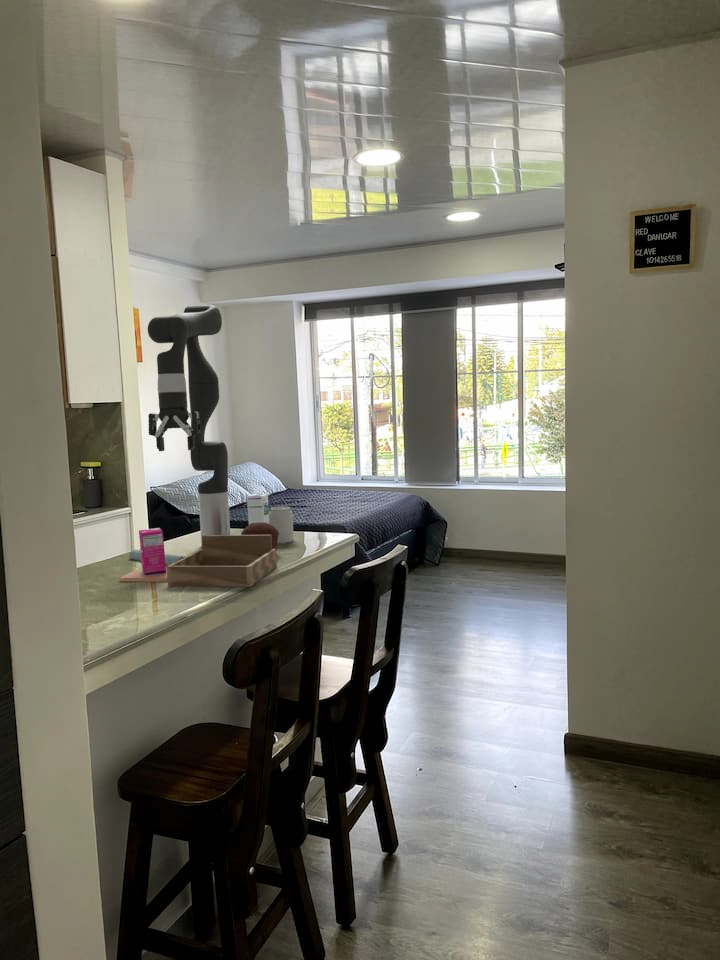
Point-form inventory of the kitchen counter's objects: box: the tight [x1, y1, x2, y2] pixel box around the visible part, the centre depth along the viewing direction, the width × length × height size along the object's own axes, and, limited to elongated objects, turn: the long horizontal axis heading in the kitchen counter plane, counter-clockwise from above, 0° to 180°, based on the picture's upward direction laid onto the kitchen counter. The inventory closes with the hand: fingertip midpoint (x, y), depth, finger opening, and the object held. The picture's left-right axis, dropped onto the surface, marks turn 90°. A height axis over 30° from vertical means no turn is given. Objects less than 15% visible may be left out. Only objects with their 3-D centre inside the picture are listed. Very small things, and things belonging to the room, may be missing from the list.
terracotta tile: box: [119, 566, 168, 583], centre depth 200 cm, size 13×13×1 cm
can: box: [269, 506, 295, 544], centre depth 239 cm, size 8×8×12 cm
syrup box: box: [246, 493, 270, 525], centre depth 254 cm, size 6×6×14 cm
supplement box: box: [138, 527, 167, 575], centre depth 200 cm, size 6×6×12 cm
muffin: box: [240, 522, 280, 552], centre depth 220 cm, size 12×11×10 cm
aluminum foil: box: [129, 549, 185, 566], centre depth 216 cm, size 23×7×3 cm, turn 53°
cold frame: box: [166, 534, 278, 588], centre depth 196 cm, size 22×22×9 cm
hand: (176, 450), depth 204 cm, fingers open, 8 cm apart
